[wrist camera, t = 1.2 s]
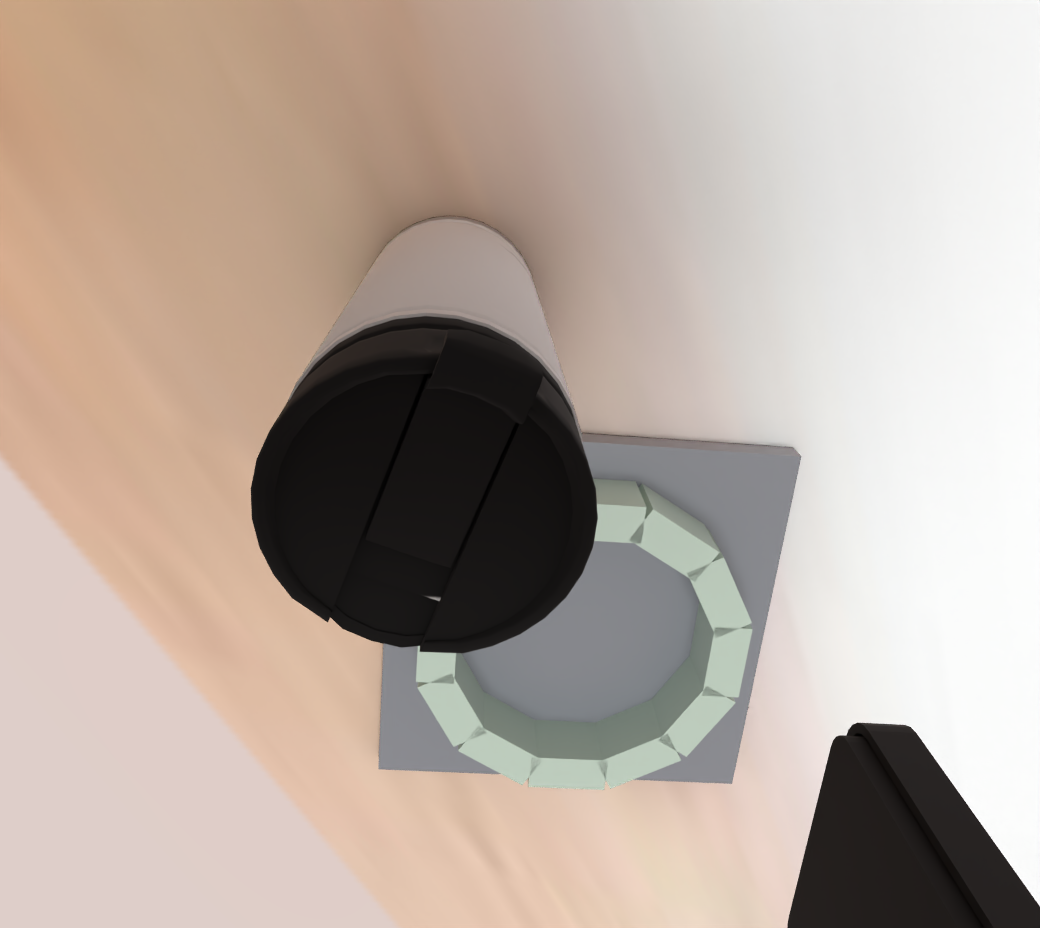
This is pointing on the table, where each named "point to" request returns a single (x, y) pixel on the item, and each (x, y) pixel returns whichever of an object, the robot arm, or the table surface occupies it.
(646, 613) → the cup dock
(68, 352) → the table surface
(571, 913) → the table surface
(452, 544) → the travel mug
